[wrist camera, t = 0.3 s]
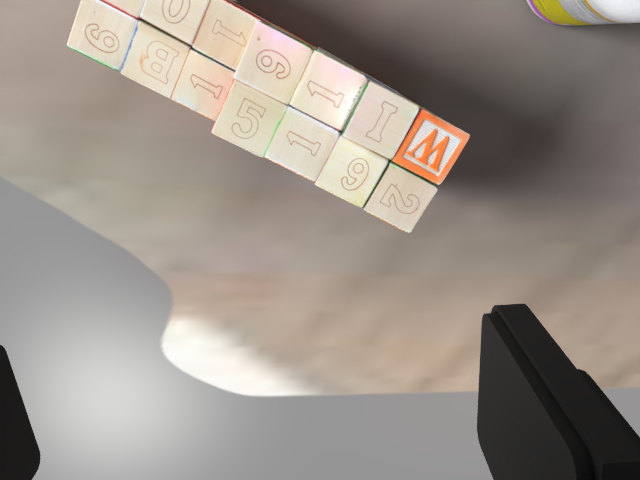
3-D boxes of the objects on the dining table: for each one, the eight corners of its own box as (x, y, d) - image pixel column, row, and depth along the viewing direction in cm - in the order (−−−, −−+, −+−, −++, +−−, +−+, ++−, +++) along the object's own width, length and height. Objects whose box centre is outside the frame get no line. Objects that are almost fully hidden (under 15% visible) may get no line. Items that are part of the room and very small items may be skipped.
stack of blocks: (122, 43, 37) (33, 44, 25) (155, -46, 35) (74, -88, 23) (384, 181, 40) (411, 237, 29) (427, 108, 38) (474, 137, 27)
